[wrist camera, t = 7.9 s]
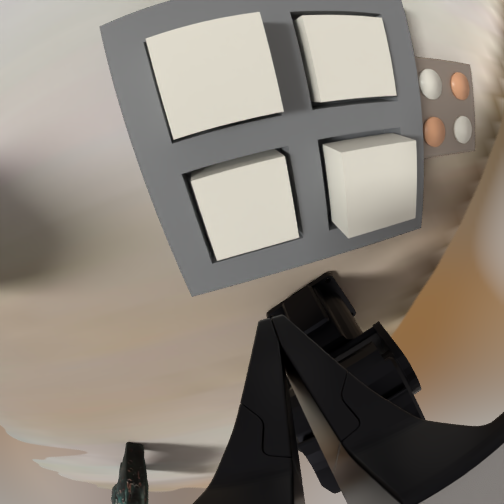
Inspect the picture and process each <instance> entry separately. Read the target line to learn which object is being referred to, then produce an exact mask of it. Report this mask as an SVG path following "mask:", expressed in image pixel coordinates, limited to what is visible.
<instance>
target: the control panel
mask: <svg viewBox="0 0 504 504" xmlns="http://www.w3.org/2000/svg"><path fill="white" fill-rule="evenodd" d="M254 12H260V15H261V18H262V22H263V26H264V30H265V33H266V37H267V41H268V45H269V49H270V53H271V57H272V61H273V65H274V70H275V74H276V78H277V83H278V87H279V92H280V96H281V101H282V105H283V110H284V112H279V113H274V114H269V115H264V116H259V117H255V118H250V119H246V120H242V121H238V122H234V123H230V124H226V125H222V126H218V127H215V128H211V129H207V130H204V131H200V132H197V133H194V134H190V135H187V136H184V137H181V138H177V139H173V136H172V132H171V129H170V126H169V122H168V119H167V116H166V112H165V109H164V105H163V102H162V98H161V95H160V91H159V88H158V84H157V80H156V77H155V73H154V69H153V66H152V62H151V58H150V54H149V50H148V46H147V43H146V38H149V37H152V36H155V35H158V34H161V33H164V32H167V31H170V30H174V29H177V28H181V27H184V26H188V25H192V24H196V23H200V22H204V21H209V20H213V19H218V18H223V17H229V16H234V15H241V14H247V13H254ZM302 15H353V16H368V17H379V18H382V21H383V24H384V29H385V33H386V37H387V42H388V47H389V52H390V57H391V62H392V68H393V74H394V80H395V87H396V95H397V96H379V97H365V98H354V99H344V100H335V101H327V102H312V101H311V100H310V95H309V90H308V85H307V80H306V76H305V71H304V66H303V62H302V58H301V53H300V49H299V45H298V41H297V37H296V33H295V29H294V25H293V21H295V20H296V19H297V18H299V17H300V16H302ZM100 31H101V36H102V40H103V44H104V49H105V53H106V57H107V61H108V65H109V69H110V73H111V76H112V80H113V84H114V87H115V91H116V94H117V98H118V101H119V105H120V108H121V112H122V115H123V118H124V121H125V125H126V128H127V131H128V134H129V137H130V140H131V143H132V146H133V149H134V152H135V155H136V158H137V161H138V164H139V167H140V170H141V172H142V175H143V178H144V181H145V184H146V186H147V189H148V192H149V194H150V197H151V200H152V202H153V205H154V208H155V210H156V213H157V215H158V218H159V221H160V223H161V226H162V228H163V231H164V233H165V235H166V238H167V240H168V243H169V245H170V248H171V250H172V252H173V255H174V257H175V259H176V262H177V264H178V266H179V269H180V271H181V273H182V276H183V278H184V280H185V282H186V285H187V287H188V289H189V291H190V293H191V296H192V297H193V296H196V295H200V294H204V293H207V292H211V291H215V290H218V289H222V288H226V287H229V286H233V285H236V284H240V283H243V282H247V281H250V280H254V279H258V278H261V277H264V276H268V275H271V274H275V273H278V272H282V271H285V270H288V269H292V268H295V267H299V266H302V265H305V264H309V263H312V262H315V261H319V260H322V259H325V258H328V257H332V256H335V255H338V254H341V253H345V252H348V251H351V250H354V249H358V248H361V247H364V246H367V245H370V244H373V243H376V242H380V241H383V240H386V239H389V238H392V237H395V236H398V235H401V234H404V233H407V232H410V231H413V230H416V229H419V228H421V223H422V209H423V189H424V144H423V123H422V110H421V100H420V91H419V83H418V75H417V69H416V63H415V57H414V51H413V46H412V41H411V37H410V32H409V28H408V24H407V20H406V16H405V12H404V8H403V5H402V1H401V0H170V1H167V2H163V3H160V4H157V5H154V6H151V7H148V8H145V9H142V10H139V11H136V12H134V13H131V14H128V15H126V16H123V17H121V18H118V19H116V20H113V21H111V22H109V23H107V24H104V25H102V26H100ZM388 133H394V134H398V135H401V136H404V137H407V138H410V139H413V140H416V149H417V196H416V217H415V218H414V219H411V220H408V221H404V222H401V223H398V224H395V225H391V226H388V227H385V228H382V229H378V230H375V231H372V232H368V233H365V234H362V235H358V236H355V237H352V238H347V237H346V236H345V234H344V233H343V232H342V231H341V230H340V229H339V228H338V227H337V226H336V225H335V224H334V223H333V222H332V219H331V209H330V199H329V190H328V182H327V174H326V166H325V159H324V152H323V145H322V144H326V143H331V142H337V141H342V140H348V139H354V138H360V137H367V136H373V135H380V134H388ZM271 149H276V150H277V151H278V152H280V153H281V154H283V155H284V156H285V160H286V165H287V170H288V175H289V181H290V186H291V192H292V198H293V204H294V210H295V215H296V222H297V228H298V234H299V238H296V239H292V240H289V241H285V242H282V243H278V244H275V245H271V246H268V247H264V248H261V249H257V250H254V251H250V252H247V253H243V254H240V255H236V256H232V257H229V258H225V259H222V260H218V261H217V259H216V256H215V253H214V250H213V248H212V245H211V242H210V239H209V236H208V233H207V230H206V227H205V224H204V221H203V218H202V215H201V212H200V209H199V206H198V203H197V200H196V196H195V193H194V190H193V187H192V184H191V173H192V171H193V170H196V169H200V168H203V167H206V166H210V165H213V164H217V163H220V162H224V161H228V160H231V159H235V158H239V157H243V156H247V155H251V154H255V153H259V152H263V151H267V150H271Z"/></svg>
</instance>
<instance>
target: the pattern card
mask: <svg viewBox="0 0 504 504" xmlns="http://www.w3.org/2000/svg"><path fill="white" fill-rule="evenodd" d="M415 63H416V69H417V75H418V83H419V91H420V100H421V110H422V123H423V144H424V159H425V158H430V157H436V156H442V155H449V154H455V153H462V152H469V151H475V113H474V97H473V85H472V76H471V68H470V65H469V64H464V63H458V62H452V61H446V60H439V59H431V58H422V57H415Z"/></svg>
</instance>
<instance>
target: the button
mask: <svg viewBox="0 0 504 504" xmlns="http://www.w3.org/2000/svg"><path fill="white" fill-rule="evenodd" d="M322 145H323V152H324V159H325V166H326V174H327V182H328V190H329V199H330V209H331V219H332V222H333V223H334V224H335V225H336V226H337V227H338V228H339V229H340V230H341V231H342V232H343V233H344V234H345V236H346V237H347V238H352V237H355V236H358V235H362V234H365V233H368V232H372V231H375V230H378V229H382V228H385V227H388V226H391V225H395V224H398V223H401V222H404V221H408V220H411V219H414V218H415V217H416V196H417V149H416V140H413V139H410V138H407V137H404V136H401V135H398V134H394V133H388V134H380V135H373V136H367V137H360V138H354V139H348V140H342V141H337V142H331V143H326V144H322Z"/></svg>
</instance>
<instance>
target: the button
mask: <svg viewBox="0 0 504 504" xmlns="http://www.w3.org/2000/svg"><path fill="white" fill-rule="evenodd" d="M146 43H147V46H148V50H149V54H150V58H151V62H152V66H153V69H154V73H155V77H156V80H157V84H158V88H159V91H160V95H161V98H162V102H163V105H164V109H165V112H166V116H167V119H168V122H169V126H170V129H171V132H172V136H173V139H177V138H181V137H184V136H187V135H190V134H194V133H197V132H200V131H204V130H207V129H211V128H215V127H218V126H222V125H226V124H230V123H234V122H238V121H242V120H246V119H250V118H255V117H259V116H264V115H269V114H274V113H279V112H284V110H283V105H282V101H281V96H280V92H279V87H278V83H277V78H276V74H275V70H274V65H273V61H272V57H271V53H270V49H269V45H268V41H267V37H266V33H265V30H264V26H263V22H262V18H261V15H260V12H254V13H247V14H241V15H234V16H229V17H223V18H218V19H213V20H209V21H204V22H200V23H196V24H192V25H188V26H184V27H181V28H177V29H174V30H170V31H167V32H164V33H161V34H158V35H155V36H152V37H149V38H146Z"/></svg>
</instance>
